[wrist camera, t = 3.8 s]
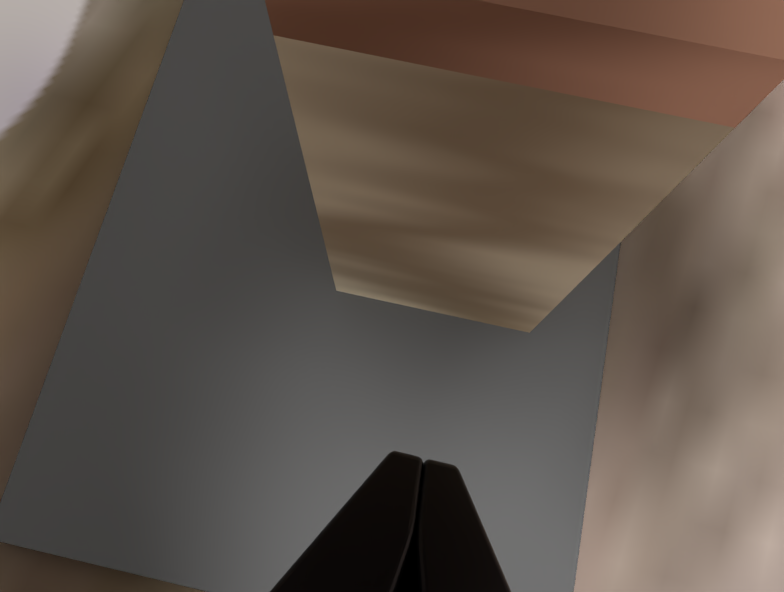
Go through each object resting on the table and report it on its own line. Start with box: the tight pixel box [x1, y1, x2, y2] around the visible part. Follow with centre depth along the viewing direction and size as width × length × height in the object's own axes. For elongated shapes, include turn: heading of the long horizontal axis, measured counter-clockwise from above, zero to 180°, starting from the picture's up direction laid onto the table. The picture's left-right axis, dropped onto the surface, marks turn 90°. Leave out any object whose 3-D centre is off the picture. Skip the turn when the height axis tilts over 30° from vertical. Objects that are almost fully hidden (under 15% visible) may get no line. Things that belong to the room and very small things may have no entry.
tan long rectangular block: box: [265, 0, 784, 333], centre depth 11 cm, size 4×4×10 cm
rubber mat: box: [0, 0, 621, 592], centre depth 16 cm, size 12×20×1 cm, turn 168°
